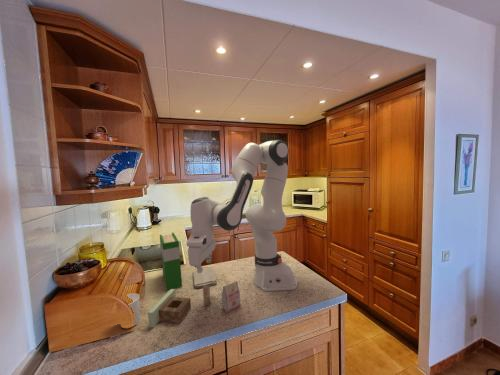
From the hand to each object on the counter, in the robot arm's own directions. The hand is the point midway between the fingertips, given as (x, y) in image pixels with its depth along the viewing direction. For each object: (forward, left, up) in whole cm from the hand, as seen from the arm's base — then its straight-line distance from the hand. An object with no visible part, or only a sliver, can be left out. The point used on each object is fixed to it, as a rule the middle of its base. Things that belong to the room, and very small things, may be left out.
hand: (204, 267), depth 93 cm
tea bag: (-11, 0, -17) cm, 20 cm away
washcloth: (+10, -21, -18) cm, 29 cm away
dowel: (0, 0, -17) cm, 17 cm away
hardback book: (+27, -17, -17) cm, 36 cm away
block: (+10, +8, -17) cm, 21 cm away
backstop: (+16, +8, -17) cm, 25 cm away
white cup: (+26, +15, -17) cm, 35 cm away
